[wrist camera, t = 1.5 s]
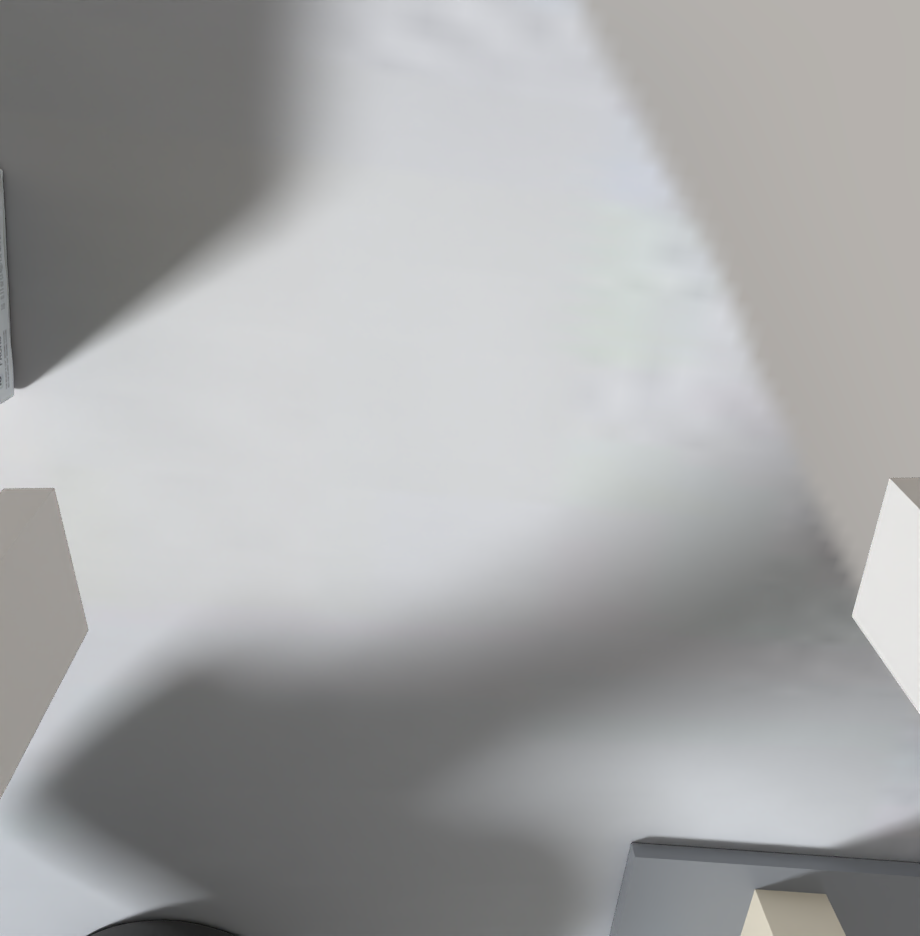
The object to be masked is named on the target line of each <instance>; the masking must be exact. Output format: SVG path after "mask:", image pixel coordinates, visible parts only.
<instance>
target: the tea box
mask: <svg viewBox="0 0 920 936" xmlns="http://www.w3.org/2000/svg"><path fill="white" fill-rule="evenodd" d="M6 250H7V249H6V231H5V208H4V190H3V171H2V170H1V169H0V404H1V403H3V402H5V401H6V400H8V399H9V398H11V397H13V395H14V373H13V361H12V350H11V334H10V312H9V286H8V270H7V251H6Z"/></svg>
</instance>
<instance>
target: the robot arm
mask: <svg viewBox="0 0 920 936" xmlns="http://www.w3.org/2000/svg"><path fill="white" fill-rule="evenodd" d="M852 617H853V619H854V620H855V622H856V623H857V625H858V626H859V628H860V629H861V630H862V632H863V633H864V635H865V636H866V638H867V639H868V641H869V642H870V643H871V645H872V646H873V648H874V649H875V651H876V652H877V653H878V655H879V656H880V658H881V659H882V661H883V662H884V664H885V665H886V666H887V668H888V669H889V671H890V672H891V674H892V675H893V677H894V678H895V679H896V681H897V682H898V684H899V685H900V687H901V688H902V690H903V691H904V692H905V694H906V695H907V697H908V698H909V700H910V701H911V702H912V704H913V705H914V707H915V708H916V710H917V711H918V713H919V714H920V478H889V481H888V485H887V489H886V493H885V496H884V500H883V503H882V507H881V511H880V514H879V518H878V522H877V525H876V529H875V533H874V536H873V540H872V543H871V547H870V551H869V555H868V558H867V562H866V565H865V569H864V573H863V576H862V580H861V584H860V587H859V591H858V595H857V598H856V602H855V606H854V609H853V613H852ZM87 632H88V626H87V622H86V618H85V614H84V610H83V605H82V601H81V597H80V593H79V589H78V585H77V580H76V576H75V572H74V568H73V564H72V560H71V555H70V551H69V547H68V543H67V539H66V535H65V530H64V526H63V522H62V518H61V514H60V510H59V505H58V501H57V497H56V493H55V489H54V488H15V489H3V490H2V491H1V492H0V799H1V797H2V795H3V793H4V791H5V789H6V787H7V785H8V783H9V782H10V780H11V778H12V776H13V774H14V772H15V770H16V768H17V766H18V764H19V762H20V760H21V759H22V757H23V755H24V753H25V751H26V749H27V747H28V745H29V743H30V741H31V739H32V737H33V736H34V734H35V732H36V730H37V728H38V726H39V724H40V722H41V720H42V718H43V716H44V714H45V712H46V711H47V709H48V707H49V705H50V703H51V701H52V699H53V697H54V695H55V693H56V691H57V689H58V688H59V686H60V684H61V682H62V680H63V678H64V676H65V674H66V672H67V670H68V668H69V666H70V665H71V663H72V661H73V659H74V657H75V655H76V653H77V651H78V649H79V647H80V645H81V643H82V642H83V640H84V638H85V636H86V634H87ZM91 936H234V935H231V934H229V933H226V932H223V931H220V930H218V929H214V928H211V927H207V926H203V925H199V924H193V923H187V922H179V921H141V922H133V923H127V924H123V925H118V926H115V927H111V928H108V929H105V930H102V931H100V932H97V933H95V934H93V935H91Z"/></svg>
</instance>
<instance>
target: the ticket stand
mask: <svg viewBox="0 0 920 936" xmlns="http://www.w3.org/2000/svg"><path fill="white" fill-rule="evenodd" d="M610 936H920V863H912V862H898V861H883V860H869V859H855V858H841V857H827V856H813V855H799V854H784V853H770V852H756V851H742V850H728V849H714V848H700V847H685V846H671V845H657V844H643V843H631V847H630V851H629V855H628V859H627V864H626V868H625V872H624V877H623V881H622V885H621V889H620V894H619V898H618V902H617V906H616V911H615V915H614V919H613V923H612V928H611V932H610Z"/></svg>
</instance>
